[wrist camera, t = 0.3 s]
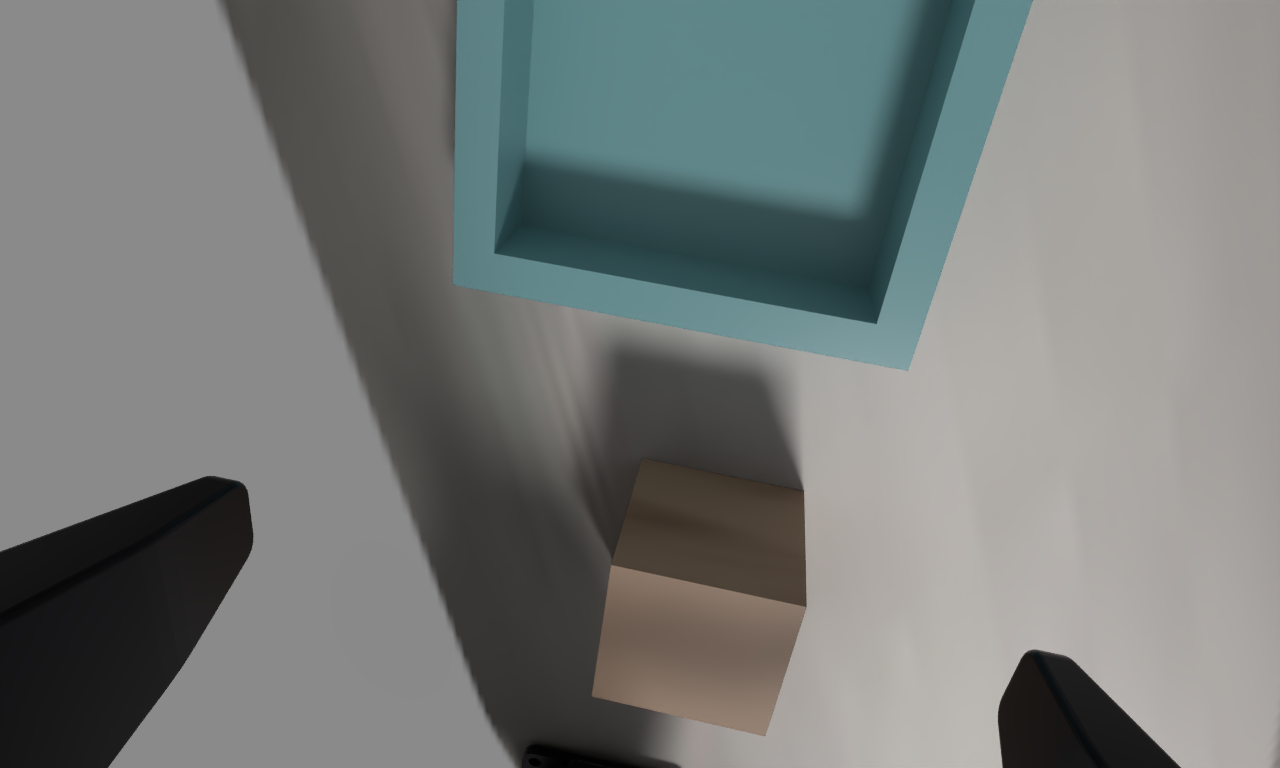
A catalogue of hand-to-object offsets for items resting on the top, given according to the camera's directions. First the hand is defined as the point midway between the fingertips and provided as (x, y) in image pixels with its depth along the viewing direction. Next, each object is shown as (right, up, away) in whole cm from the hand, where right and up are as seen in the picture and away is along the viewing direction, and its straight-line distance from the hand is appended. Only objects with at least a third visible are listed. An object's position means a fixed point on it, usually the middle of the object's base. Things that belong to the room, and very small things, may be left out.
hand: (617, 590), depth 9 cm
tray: (+2, +10, +10) cm, 14 cm away
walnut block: (+2, -3, +17) cm, 17 cm away
